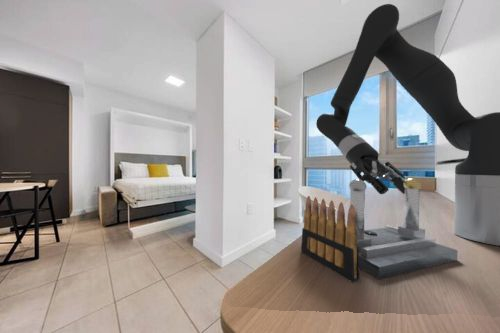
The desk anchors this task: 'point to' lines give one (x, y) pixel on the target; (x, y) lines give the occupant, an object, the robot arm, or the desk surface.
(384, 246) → the plate
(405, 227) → the gold topped lever
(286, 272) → the desk surface
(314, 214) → the ammunition clip
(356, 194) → the silver ball-topped post
